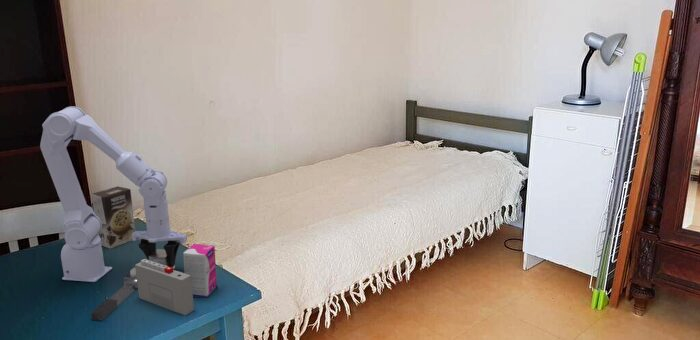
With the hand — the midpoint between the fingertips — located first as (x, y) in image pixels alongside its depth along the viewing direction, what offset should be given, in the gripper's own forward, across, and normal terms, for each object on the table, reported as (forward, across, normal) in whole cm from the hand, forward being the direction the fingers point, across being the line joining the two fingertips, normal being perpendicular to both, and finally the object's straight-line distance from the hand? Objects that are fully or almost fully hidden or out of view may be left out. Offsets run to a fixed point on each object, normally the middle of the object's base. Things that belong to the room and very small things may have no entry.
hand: (162, 265), depth 145 cm
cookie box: (+2, -23, +16) cm, 28 cm away
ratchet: (+1, -3, -15) cm, 15 cm away
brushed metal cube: (+1, 0, 0) cm, 1 cm away
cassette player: (+2, +9, -16) cm, 18 cm away
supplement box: (+2, +15, -9) cm, 18 cm away
